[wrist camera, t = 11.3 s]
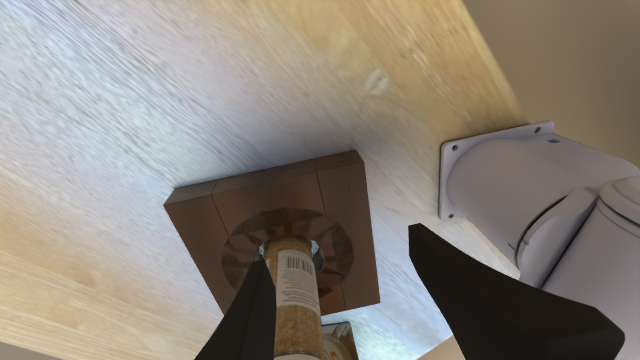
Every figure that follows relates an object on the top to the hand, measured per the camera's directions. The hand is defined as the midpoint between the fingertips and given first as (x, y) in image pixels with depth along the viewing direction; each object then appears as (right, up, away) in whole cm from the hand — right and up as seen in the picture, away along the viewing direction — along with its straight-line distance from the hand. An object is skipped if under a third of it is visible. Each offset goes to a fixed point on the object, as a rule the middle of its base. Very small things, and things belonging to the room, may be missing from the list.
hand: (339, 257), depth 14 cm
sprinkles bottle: (-4, -2, +13) cm, 13 cm away
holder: (-4, -2, +12) cm, 13 cm away
